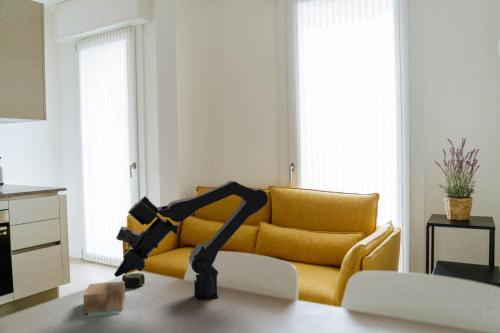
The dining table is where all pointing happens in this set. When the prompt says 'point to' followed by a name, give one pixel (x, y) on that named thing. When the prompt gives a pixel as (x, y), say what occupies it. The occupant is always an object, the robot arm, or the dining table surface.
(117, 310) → the mat
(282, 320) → the dining table surface
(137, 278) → the tape measure
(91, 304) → the light brown wooden block
